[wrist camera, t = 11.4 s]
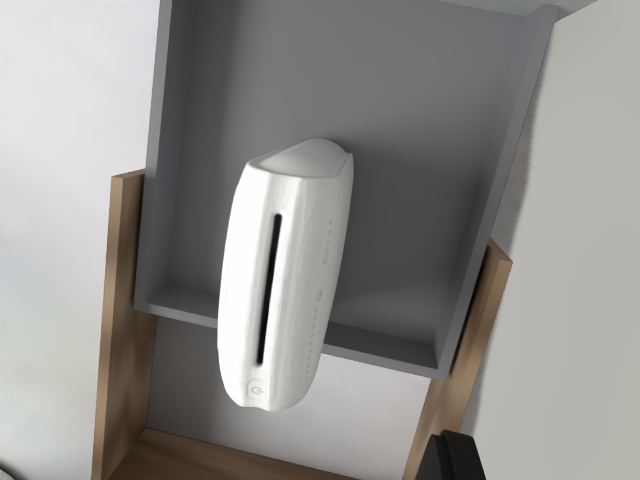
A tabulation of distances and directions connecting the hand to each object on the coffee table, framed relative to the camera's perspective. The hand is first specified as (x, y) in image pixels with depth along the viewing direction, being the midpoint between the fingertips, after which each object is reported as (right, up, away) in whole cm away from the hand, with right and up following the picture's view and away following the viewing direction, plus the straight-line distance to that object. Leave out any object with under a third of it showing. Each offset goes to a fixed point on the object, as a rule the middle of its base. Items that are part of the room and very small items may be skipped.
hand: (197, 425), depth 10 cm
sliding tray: (+3, +7, +19) cm, 20 cm away
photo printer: (+2, +5, +18) cm, 19 cm away
